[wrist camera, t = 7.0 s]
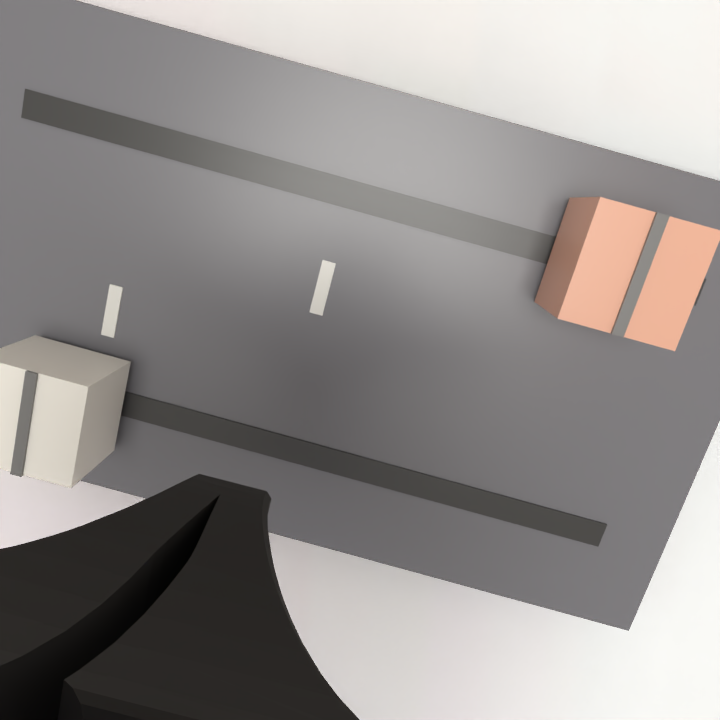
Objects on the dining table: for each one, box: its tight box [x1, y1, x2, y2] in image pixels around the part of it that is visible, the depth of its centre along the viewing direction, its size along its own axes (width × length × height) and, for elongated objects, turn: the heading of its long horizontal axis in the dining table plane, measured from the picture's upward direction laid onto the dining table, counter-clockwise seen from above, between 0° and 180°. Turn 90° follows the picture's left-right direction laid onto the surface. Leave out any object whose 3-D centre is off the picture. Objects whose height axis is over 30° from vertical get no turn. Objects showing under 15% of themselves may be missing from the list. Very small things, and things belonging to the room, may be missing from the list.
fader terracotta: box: [534, 197, 720, 351], centre depth 17 cm, size 3×3×3 cm
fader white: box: [0, 335, 131, 488], centre depth 19 cm, size 3×3×3 cm
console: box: [0, 0, 720, 631], centre depth 20 cm, size 14×26×2 cm, turn 75°
